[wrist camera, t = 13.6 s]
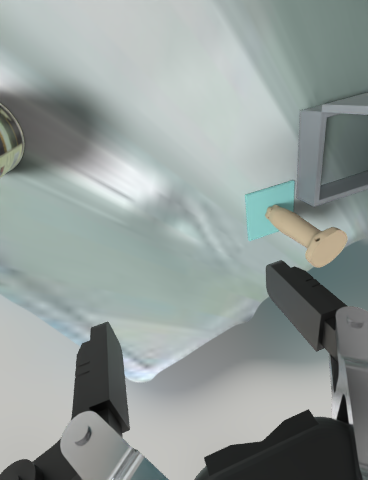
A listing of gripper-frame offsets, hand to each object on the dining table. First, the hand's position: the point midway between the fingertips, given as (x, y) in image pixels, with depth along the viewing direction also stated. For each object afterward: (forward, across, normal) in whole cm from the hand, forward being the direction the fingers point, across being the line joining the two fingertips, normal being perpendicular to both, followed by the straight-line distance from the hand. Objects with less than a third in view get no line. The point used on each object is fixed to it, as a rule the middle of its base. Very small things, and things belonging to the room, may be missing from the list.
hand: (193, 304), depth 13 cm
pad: (+32, -24, +16) cm, 43 cm away
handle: (+32, -24, +16) cm, 43 cm away
